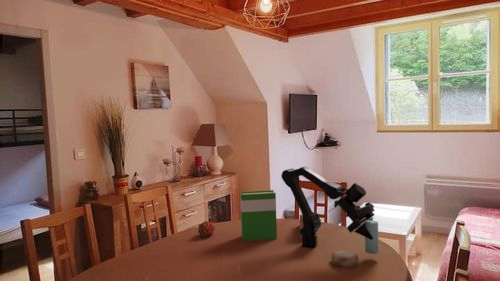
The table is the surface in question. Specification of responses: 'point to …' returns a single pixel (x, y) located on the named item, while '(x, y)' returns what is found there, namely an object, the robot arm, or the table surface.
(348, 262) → the walnut base
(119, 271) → the table surface
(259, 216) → the hardback book
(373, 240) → the blue-grey cylinder
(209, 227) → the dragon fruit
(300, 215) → the stack of blocks
